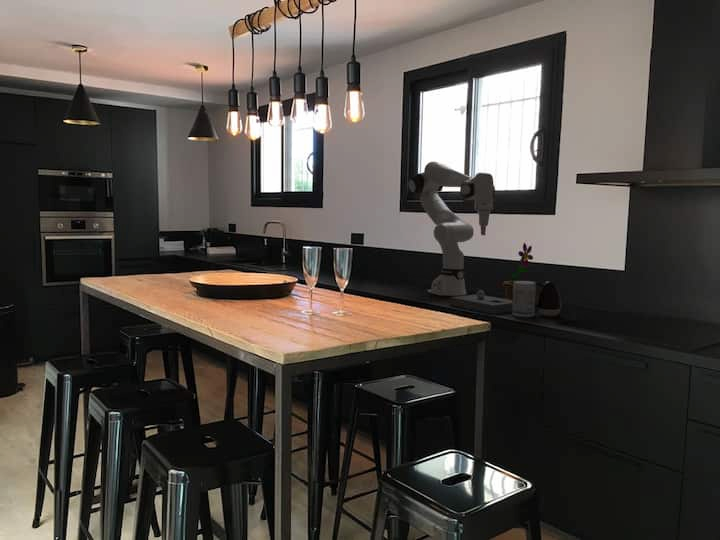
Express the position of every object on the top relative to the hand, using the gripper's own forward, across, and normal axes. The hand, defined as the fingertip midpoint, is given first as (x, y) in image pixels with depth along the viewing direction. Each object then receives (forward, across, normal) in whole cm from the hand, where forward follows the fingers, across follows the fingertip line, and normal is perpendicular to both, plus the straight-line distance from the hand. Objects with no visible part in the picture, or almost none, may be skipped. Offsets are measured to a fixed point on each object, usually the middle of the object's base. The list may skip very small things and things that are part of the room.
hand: (483, 235), depth 285 cm
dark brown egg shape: (+34, +28, +28) cm, 52 cm away
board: (+34, +13, +1) cm, 36 cm away
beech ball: (+28, +11, -1) cm, 30 cm away
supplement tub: (+34, +30, +17) cm, 48 cm away
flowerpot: (+34, -3, +17) cm, 38 cm away
